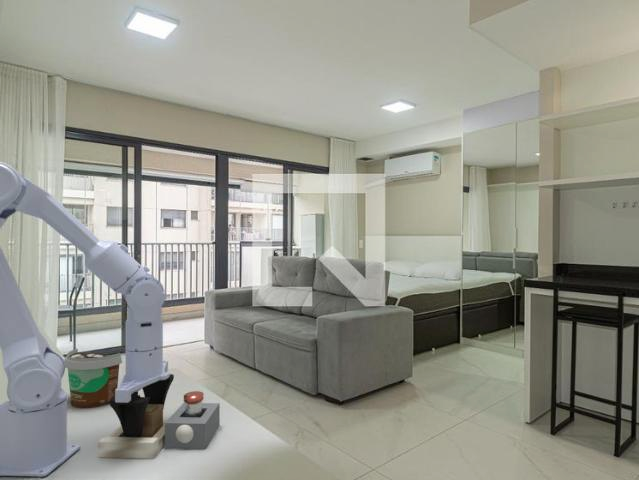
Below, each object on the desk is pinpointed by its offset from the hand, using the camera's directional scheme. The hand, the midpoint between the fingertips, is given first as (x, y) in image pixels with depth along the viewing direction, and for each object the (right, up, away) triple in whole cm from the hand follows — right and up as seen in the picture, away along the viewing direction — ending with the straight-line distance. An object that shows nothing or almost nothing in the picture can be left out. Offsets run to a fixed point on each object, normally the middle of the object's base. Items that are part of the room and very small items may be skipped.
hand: (144, 428), depth 67 cm
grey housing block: (+8, -2, +1) cm, 8 cm away
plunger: (+8, +1, +1) cm, 8 cm away
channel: (0, -2, +3) cm, 3 cm away
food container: (-18, -2, +14) cm, 23 cm away
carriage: (0, -2, 0) cm, 2 cm away
